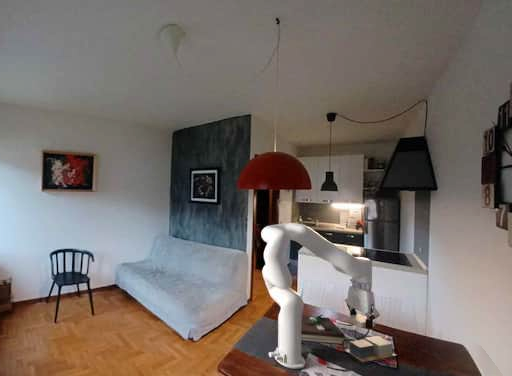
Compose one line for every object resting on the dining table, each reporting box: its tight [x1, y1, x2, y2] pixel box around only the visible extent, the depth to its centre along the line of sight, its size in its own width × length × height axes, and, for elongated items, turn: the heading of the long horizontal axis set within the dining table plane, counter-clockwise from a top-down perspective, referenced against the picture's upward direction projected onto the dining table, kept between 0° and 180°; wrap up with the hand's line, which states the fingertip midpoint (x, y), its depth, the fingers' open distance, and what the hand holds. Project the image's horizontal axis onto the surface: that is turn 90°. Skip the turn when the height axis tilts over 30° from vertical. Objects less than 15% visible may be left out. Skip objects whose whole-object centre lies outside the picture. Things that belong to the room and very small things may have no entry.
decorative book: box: [301, 314, 345, 346], centre depth 137 cm, size 19×8×30 cm
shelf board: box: [344, 348, 397, 363], centre depth 121 cm, size 20×9×2 cm, turn 104°
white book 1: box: [346, 313, 376, 329], centre depth 120 cm, size 8×7×2 cm
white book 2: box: [364, 335, 393, 351], centre depth 122 cm, size 8×7×2 cm
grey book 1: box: [349, 338, 374, 353], centre depth 120 cm, size 8×5×2 cm, turn 104°
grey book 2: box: [349, 346, 374, 358], centre depth 120 cm, size 8×5×2 cm, turn 104°
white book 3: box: [374, 348, 394, 356], centre depth 122 cm, size 8×7×2 cm
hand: (360, 323), depth 120 cm, fingers closed on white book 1, 6 cm apart
